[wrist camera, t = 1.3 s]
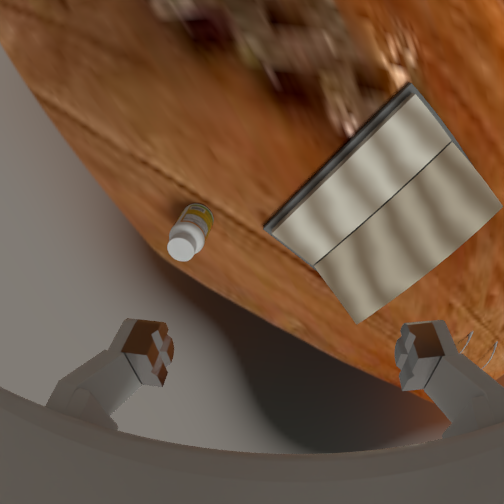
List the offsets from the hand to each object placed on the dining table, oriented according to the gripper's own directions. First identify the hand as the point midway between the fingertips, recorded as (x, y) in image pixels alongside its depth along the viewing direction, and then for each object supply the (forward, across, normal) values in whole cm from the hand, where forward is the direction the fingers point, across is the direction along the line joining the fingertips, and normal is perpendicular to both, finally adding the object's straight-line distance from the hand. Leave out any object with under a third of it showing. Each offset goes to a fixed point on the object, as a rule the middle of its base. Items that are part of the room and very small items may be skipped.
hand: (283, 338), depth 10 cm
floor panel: (+37, -16, +12) cm, 42 cm away
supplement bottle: (+38, +15, +14) cm, 43 cm away
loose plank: (+33, -18, +15) cm, 40 cm away
